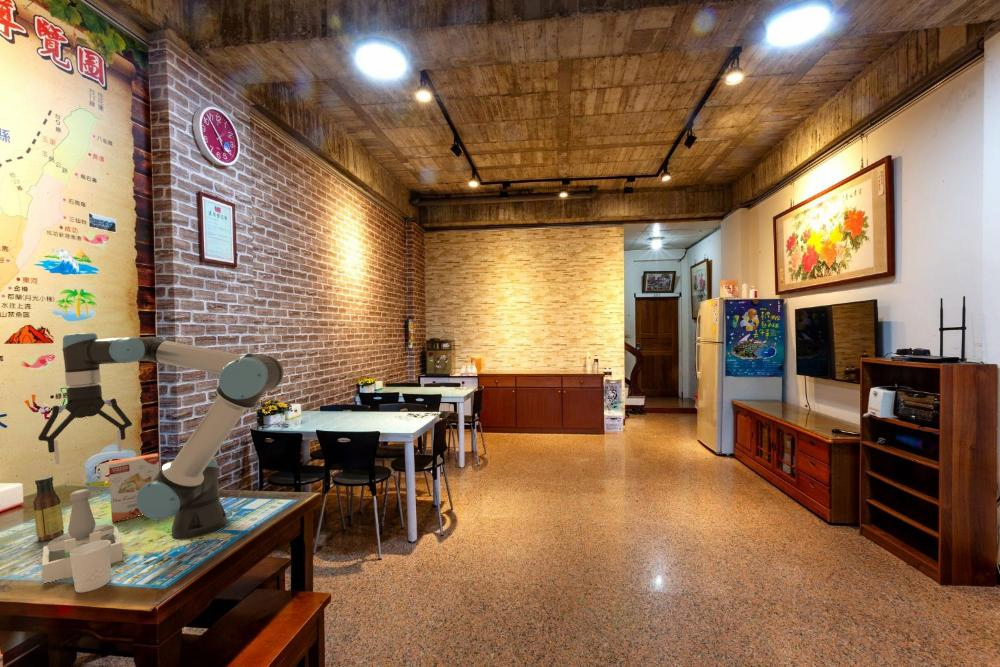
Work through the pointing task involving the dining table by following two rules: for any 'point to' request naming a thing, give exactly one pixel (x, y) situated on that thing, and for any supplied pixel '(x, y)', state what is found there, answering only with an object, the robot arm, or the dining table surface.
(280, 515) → the dining table surface
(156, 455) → the cracker box
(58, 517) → the sauce bottle
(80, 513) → the salt shaker
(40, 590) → the dining table surface
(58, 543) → the grey shiny rounded piece
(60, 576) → the square open box
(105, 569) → the white cup
